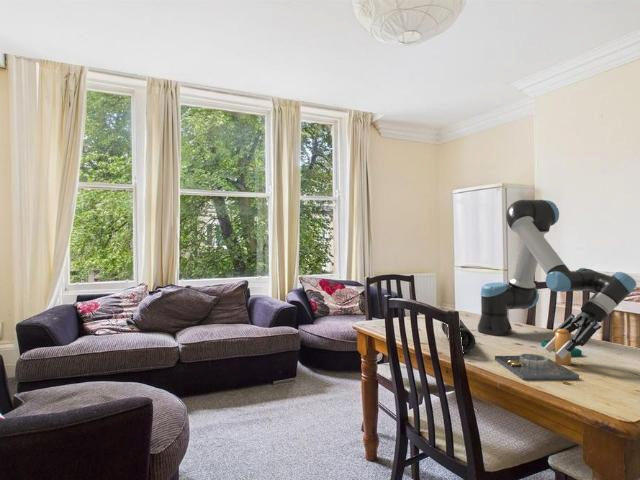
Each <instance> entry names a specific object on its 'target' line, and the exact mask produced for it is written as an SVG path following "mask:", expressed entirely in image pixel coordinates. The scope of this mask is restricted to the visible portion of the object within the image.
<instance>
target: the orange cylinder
mask: <svg viewBox="0 0 640 480" xmlns="http://www.w3.org/2000/svg"><path fill="white" fill-rule="evenodd" d="M556 329H557V328H556ZM571 334H572V333H569V330H566V329H557V331H556V332H555V333H554V337H555V352H554V355H555V356H554V358H555V359H554V362H556V363H558V364H560V365H562V366H571V365H572V356H571V352H569V353H568V354H567V355H566V356H565V357H564V358H563V359H561V358H560V357H559V356H558V355H557V354H556V353H557V352H558V351H559V349H560V348H561V347H562V346H563V345H564V344H565V343H566V342H567V341H568V340H570V339H572V335H571ZM570 341H571V340H570ZM571 342H572V341H571Z"/></svg>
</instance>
